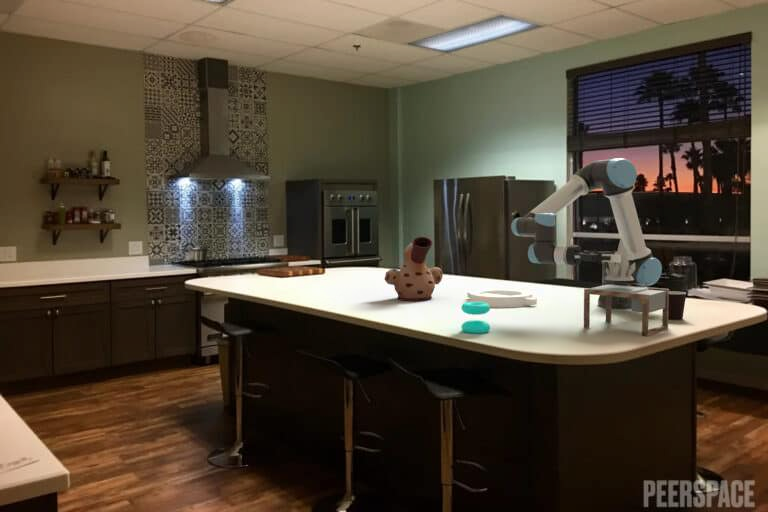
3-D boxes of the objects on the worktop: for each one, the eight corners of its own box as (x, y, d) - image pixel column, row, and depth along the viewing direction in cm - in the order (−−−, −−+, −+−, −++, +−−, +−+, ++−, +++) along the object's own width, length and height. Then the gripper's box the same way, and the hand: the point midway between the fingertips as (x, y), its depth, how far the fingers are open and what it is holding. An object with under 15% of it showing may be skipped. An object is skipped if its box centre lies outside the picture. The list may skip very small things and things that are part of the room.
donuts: (480, 300, 236) (495, 304, 226) (480, 327, 236) (495, 332, 227) (456, 302, 232) (470, 306, 222) (456, 330, 232) (470, 335, 223)
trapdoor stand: (583, 328, 233) (584, 289, 232) (607, 321, 246) (607, 284, 245) (646, 336, 217) (647, 294, 216) (668, 328, 231) (668, 289, 230)
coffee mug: (684, 321, 244) (684, 294, 243) (659, 319, 249) (659, 293, 248) (688, 316, 254) (688, 291, 253) (664, 314, 258) (664, 289, 258)
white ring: (538, 307, 283) (538, 296, 282) (473, 308, 283) (473, 297, 283) (525, 298, 311) (525, 288, 310) (466, 299, 311) (466, 289, 311)
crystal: (624, 277, 240) (624, 236, 239) (640, 281, 227) (641, 238, 226) (597, 277, 239) (598, 236, 238) (612, 281, 226) (613, 238, 225)
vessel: (431, 294, 326) (430, 234, 324) (455, 300, 306) (454, 236, 304) (379, 298, 313) (378, 236, 311) (400, 304, 294) (400, 238, 291)
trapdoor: (587, 306, 234) (587, 288, 233) (606, 302, 244) (606, 284, 244) (648, 313, 218) (648, 293, 218) (665, 307, 229) (666, 288, 228)
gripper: (581, 262, 253) (638, 265, 240) (554, 267, 235) (614, 270, 221) (581, 243, 253) (638, 245, 239) (555, 246, 234) (615, 248, 220)
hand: (627, 257), depth 230 cm, fingers closed on crystal, 12 cm apart
